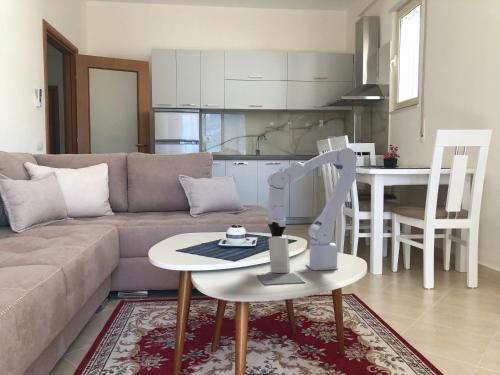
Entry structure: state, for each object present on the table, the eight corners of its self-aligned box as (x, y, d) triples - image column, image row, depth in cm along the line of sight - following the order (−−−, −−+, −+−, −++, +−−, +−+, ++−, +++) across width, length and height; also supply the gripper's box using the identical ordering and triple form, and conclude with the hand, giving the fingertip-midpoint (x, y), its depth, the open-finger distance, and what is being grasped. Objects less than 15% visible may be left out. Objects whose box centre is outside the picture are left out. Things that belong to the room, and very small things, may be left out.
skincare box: (290, 270, 144) (288, 235, 144) (287, 273, 140) (286, 237, 140) (273, 270, 146) (271, 235, 146) (269, 273, 142) (268, 237, 141)
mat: (293, 274, 141) (293, 273, 141) (304, 283, 130) (304, 282, 130) (256, 275, 138) (256, 274, 138) (264, 285, 128) (264, 284, 128)
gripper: (261, 203, 153) (260, 240, 153) (271, 207, 139) (270, 248, 139) (279, 203, 154) (279, 240, 155) (291, 207, 140) (291, 247, 141)
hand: (276, 244), depth 147 cm, fingers closed
